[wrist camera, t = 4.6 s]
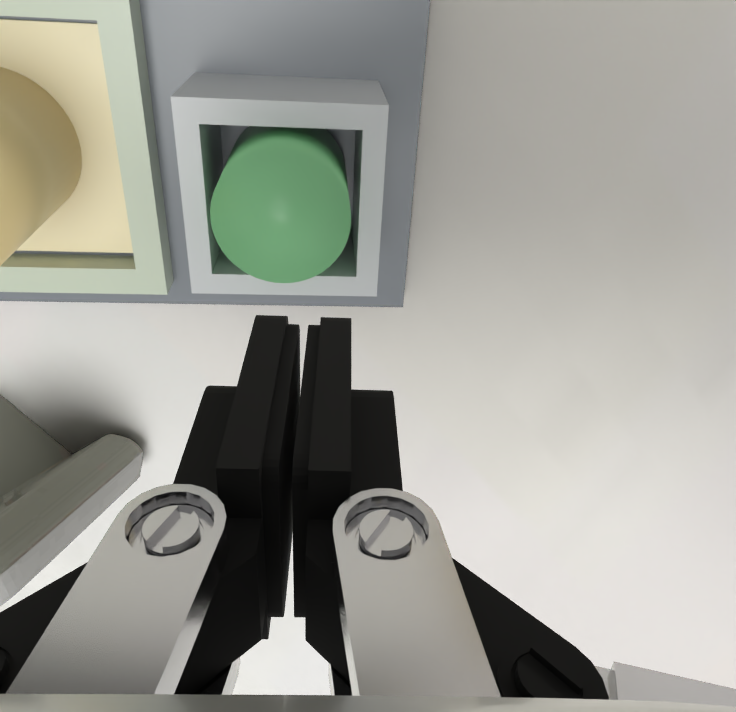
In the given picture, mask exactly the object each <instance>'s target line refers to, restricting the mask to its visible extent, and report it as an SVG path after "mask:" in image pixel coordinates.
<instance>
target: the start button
mask: <svg viewBox="0 0 736 712" xmlns="http://www.w3.org/2000/svg"><path fill="white" fill-rule="evenodd" d="M210 220H211V226H212V230H213V233H214V236H215V239H216V241H217V243H218V245H219V247H220V248H221V250H222V251H223V253H224V254H225V255H226V256H227V258H228V259H229V260H230V261H231V262H232V263H233V264H234V265H236V266H237V267H238V268H239V269H241V270H242V271H244V272H246V273H247V274H249V275H251V276H253V277H255V278H258V279H261V280H264V281H268V282H274V283H294V282H300V281H303V280H307V279H310V278H312V277H314V276H316V275H318V274H320V273H322V272H323V271H325V270H326V269H327V268H328V267H330V266H331V265H332V264H333V263H334V262H335V261H336V260H337V258H338V257H339V256H340V254H341V253H342V251H343V249H344V247H345V245H346V243H347V240H348V237H349V233H350V227H351V210H350V201H349V192H348V183H347V174H346V166H345V161H344V157H343V154H342V152H341V149H340V147H339V145H338V144H337V142H336V141H335V139H334V138H333V137H332V135H331V134H330V133H329V132H328V131H327V130H326V129H318V128H291V127H265V126H249V127H248V128H246V129H245V130H244V131H243V133H242V134H241V135H240V136H239V138H238V139H237V141H236V143H235V145H234V147H233V149H232V151H231V154H230V156H229V158H228V160H227V163H226V165H225V167H224V169H223V172H222V174H221V176H220V178H219V181H218V183H217V185H216V188H215V190H214V192H213V196H212V200H211V206H210Z"/></svg>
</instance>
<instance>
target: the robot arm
mask: <svg viewBox="0 0 736 712" xmlns="http://www.w3.org/2000/svg"><path fill="white" fill-rule="evenodd" d="M292 532H293V571H294V616H295V617H306V641H307V642H308V643H309V644H310V645H311V646H312V647H313V648H314V649H315V650H316V651H317V652H318V653H319V654H320V655H321V656H323V657H324V658H325V659H326V660H327V661H328V662H329V674H328V676H329V684H330V692H331V695H232V693H233V689H234V686H235V683H236V680H237V677H238V672H239V665H240V656H241V655H243V654H244V653H245V652H246V651H248V650H249V649H250V648H251V647H253V646H254V645H255V644H257V643H258V642H259V641H260V640H261V639H268V636H269V628H270V620H271V617H283V616H284V610H285V601H286V591H287V581H288V571H289V561H290V552H291V542H292ZM0 712H736V689H733V688H728V687H724V686H720V685H715V684H711V683H706V682H702V681H697V680H693V679H689V678H684V677H680V676H675V675H671V674H666V673H662V672H658V671H653V670H649V669H644V668H640V667H635V666H631V665H627V664H622V663H618V662H614V663H613V665H612V668H611V670H610V669H606V668H602V667H597V666H594V665H593V664H592V662H591V661H590V660H589V659H588V658H587V657H586V656H585V655H584V654H583V653H581V652H580V651H579V650H578V649H577V648H576V647H575V646H573V645H572V644H571V643H569V642H568V641H566V640H565V639H564V638H562V637H561V636H560V635H558V634H557V633H555V632H554V631H553V630H551V629H550V628H548V627H547V626H546V625H544V624H543V623H542V622H540V621H539V620H537V619H536V618H535V617H533V616H532V615H531V614H529V613H528V612H526V611H525V610H524V609H522V608H521V607H519V606H518V605H517V604H515V603H514V602H513V601H511V600H510V599H508V598H507V597H506V596H504V595H503V594H501V593H500V592H499V591H497V590H496V589H495V588H493V587H492V586H490V585H489V584H488V583H486V582H485V581H483V580H482V579H481V578H479V577H478V576H477V575H475V574H474V573H472V572H471V571H470V570H468V569H467V568H465V567H464V566H463V565H461V564H460V563H459V562H457V561H456V560H454V559H453V558H452V557H451V554H450V551H449V548H448V546H447V543H446V540H445V537H444V534H443V531H442V528H441V526H440V523H439V520H438V519H437V517H436V515H435V513H434V512H433V510H432V509H431V508H430V507H429V506H428V505H427V504H426V503H425V502H424V501H423V500H421V499H420V498H418V497H416V496H414V495H412V494H410V493H408V492H404V491H403V489H402V478H401V468H400V457H399V447H398V437H397V426H396V416H395V405H394V396H393V392H392V391H380V390H351V318H325V317H321V322H320V325H309V326H308V334H307V343H306V351H305V360H304V369H303V377H302V386H301V395H300V329H299V325H294V324H288V317H287V316H264V315H256V317H255V320H254V324H253V328H252V332H251V336H250V339H249V343H248V347H247V351H246V354H245V358H244V362H243V366H242V370H241V373H240V377H239V381H238V385H237V386H208V387H206V389H205V391H204V394H203V397H202V400H201V403H200V406H199V409H198V412H197V415H196V418H195V421H194V424H193V427H192V430H191V433H190V435H189V438H188V441H187V444H186V447H185V450H184V453H183V456H182V459H181V462H180V465H179V468H178V471H177V474H176V477H175V480H174V483H173V484H171V485H166V486H161V487H156V488H154V489H151V490H149V491H147V492H144V493H142V494H140V495H139V496H137V497H136V498H134V499H133V500H131V501H130V502H129V503H127V504H126V506H125V507H124V508H123V509H122V510H121V511H120V513H119V514H118V515H117V516H116V518H115V520H114V521H113V523H112V524H111V526H110V528H109V529H108V531H107V532H106V534H105V536H104V537H103V539H102V540H101V542H100V544H99V545H98V547H97V548H96V550H95V552H94V553H93V555H92V556H91V558H90V560H89V561H88V562H87V563H85V564H84V565H82V566H80V567H78V568H77V569H75V570H73V571H72V572H70V573H68V574H66V575H65V576H63V577H61V578H59V579H58V580H56V581H54V582H52V583H51V584H49V585H47V586H45V587H44V588H42V589H40V590H39V591H37V592H35V593H33V594H32V595H30V596H28V597H26V598H25V599H23V600H21V601H19V602H18V603H16V604H14V605H12V606H11V607H9V608H7V609H6V610H4V611H2V612H0Z"/></svg>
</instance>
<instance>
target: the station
mask: <svg viewBox="0 0 736 712" xmlns="http://www.w3.org/2000/svg"><path fill="white" fill-rule="evenodd" d="M429 9H430V0H0V301H45V302H109V303H172V304H236V305H300V306H363V307H403V300H404V289H405V278H406V266H407V255H408V244H409V233H410V222H411V210H412V199H413V188H414V177H415V165H416V154H417V143H418V132H419V121H420V109H421V98H422V87H423V76H424V65H425V53H426V42H427V31H428V20H429ZM249 126H265V127H291V128H318V129H326V130H327V131H328V132H329V133H330V134H331V135H332V137H333V138H334V139H335V141H336V142H337V144H338V145H339V147H340V149H341V152H342V154H343V157H344V161H345V166H346V174H347V183H348V192H349V201H350V210H351V227H350V233H349V237H348V240H347V243H346V245H345V247H344V249H343V251H342V253H341V254H340V256H339V257H338V258H337V260H336V261H335V262H334V263H333V264H332V265H331V266H330V267H328V268H327V269H326V270H325V271H323V272H322V273H320V274H318V275H316V276H314V277H312V278H310V279H307V280H303V281H300V282H294V283H274V282H268V281H264V280H261V279H258V278H255V277H253V276H251V275H249V274H247V273H246V272H244V271H242V270H241V269H239V268H238V267H237V266H236V265H234V264H233V263H232V262H231V261H230V260H229V259H228V258H227V256H226V255H225V254H224V253H223V251H222V250H221V248H220V247H219V245H218V243H217V241H216V239H215V236H214V233H213V230H212V226H211V220H210V206H211V200H212V196H213V192H214V190H215V188H216V185H217V183H218V181H219V178H220V176H221V174H222V172H223V169H224V167H225V165H226V163H227V160H228V158H229V156H230V154H231V151H232V149H233V147H234V145H235V143H236V141H237V139H238V138H239V136H240V135H241V134H242V133H243V131H244V130H245V129H246V128H248V127H249Z"/></svg>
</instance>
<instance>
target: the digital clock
mask: <svg viewBox="0 0 736 712" xmlns="http://www.w3.org/2000/svg"><path fill="white" fill-rule="evenodd" d="M142 458H143V450H141V448H140V447H139V446H138V444H137V443H135V442H134V441H132V440H131V439H129V438H126V437H123V436H120V435H114V434H107V435H105V436H103V437H102V438H100V439H98V440H96V441H95V442H93V443H91V444H90V445H88V446H86V447H84V448H83V449H81V450H79V451H78V452H76V453H74V454H71V453H70V452H69V451H67V450H66V449H65V448H64V447H63V446H61V445H60V444H59V443H58V442H57V441H55V440H54V439H53V438H52V437H51V436H49V435H48V434H47V433H46V432H45V431H43V430H42V429H41V428H40V427H39V426H37V425H36V424H35V423H34V422H33V421H31V420H30V419H29V418H28V417H27V416H25V415H24V414H23V413H22V412H21V411H19V410H18V409H17V408H16V407H15V406H13V405H12V404H11V403H10V402H9V401H7V400H6V399H5V398H4V397H3V396H2V395H0V606H1V605H3V604H4V603H5V602H7V601H8V600H9V599H10V598H12V597H13V596H14V595H15V594H16V593H17V592H19V591H20V590H21V589H22V588H23V587H24V586H25V585H26V584H27V583H28V582H29V581H31V580H32V579H33V578H34V577H35V576H36V575H37V574H38V573H39V572H40V571H41V570H42V569H43V568H44V567H46V566H47V565H48V564H49V563H50V562H51V561H52V560H53V559H54V558H55V557H56V556H57V555H58V554H59V553H60V552H61V551H62V550H63V549H65V548H66V547H67V546H68V545H69V544H70V543H71V542H72V541H73V540H74V539H75V538H76V537H77V536H78V535H79V534H80V533H81V532H82V531H84V530H85V529H86V528H87V527H88V526H89V525H90V524H91V523H92V522H93V521H94V520H95V519H96V518H97V517H98V516H99V515H100V514H102V513H103V512H104V511H105V510H106V509H107V508H108V507H109V506H110V505H111V504H112V503H113V502H114V501H115V500H116V499H117V498H118V497H119V496H121V495H122V494H123V493H124V492H125V491H126V490H127V489H128V488H129V487H130V486H131V485H132V484H133V483H134V482H135V481H136V480H137V479H138V478H139V476H140V472H141V466H142Z"/></svg>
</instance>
